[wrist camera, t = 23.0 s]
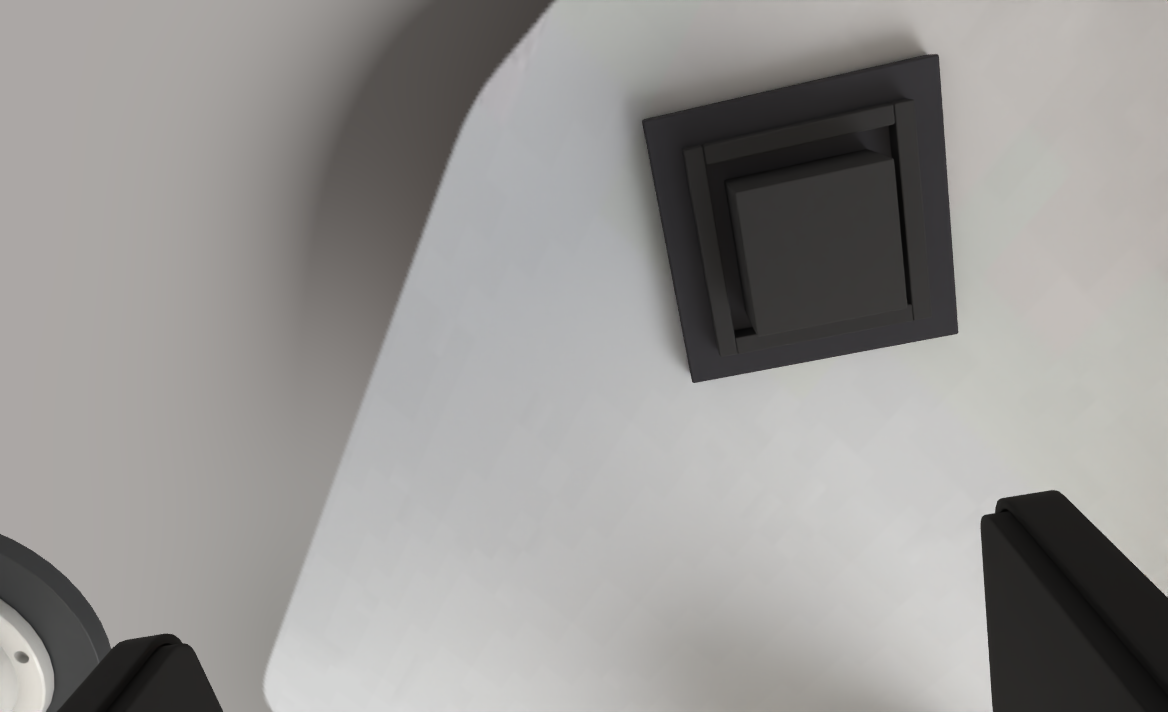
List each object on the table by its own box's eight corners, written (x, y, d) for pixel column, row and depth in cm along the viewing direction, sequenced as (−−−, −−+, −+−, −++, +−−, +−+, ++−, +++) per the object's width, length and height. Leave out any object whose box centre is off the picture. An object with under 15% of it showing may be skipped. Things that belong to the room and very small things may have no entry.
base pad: (690, 374, 38) (694, 392, 36) (641, 119, 34) (642, 123, 32) (948, 325, 37) (968, 341, 35) (928, 54, 33) (948, 53, 31)
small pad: (745, 312, 36) (757, 337, 32) (723, 179, 34) (734, 192, 31) (881, 285, 35) (908, 308, 32) (867, 148, 33) (894, 158, 30)
